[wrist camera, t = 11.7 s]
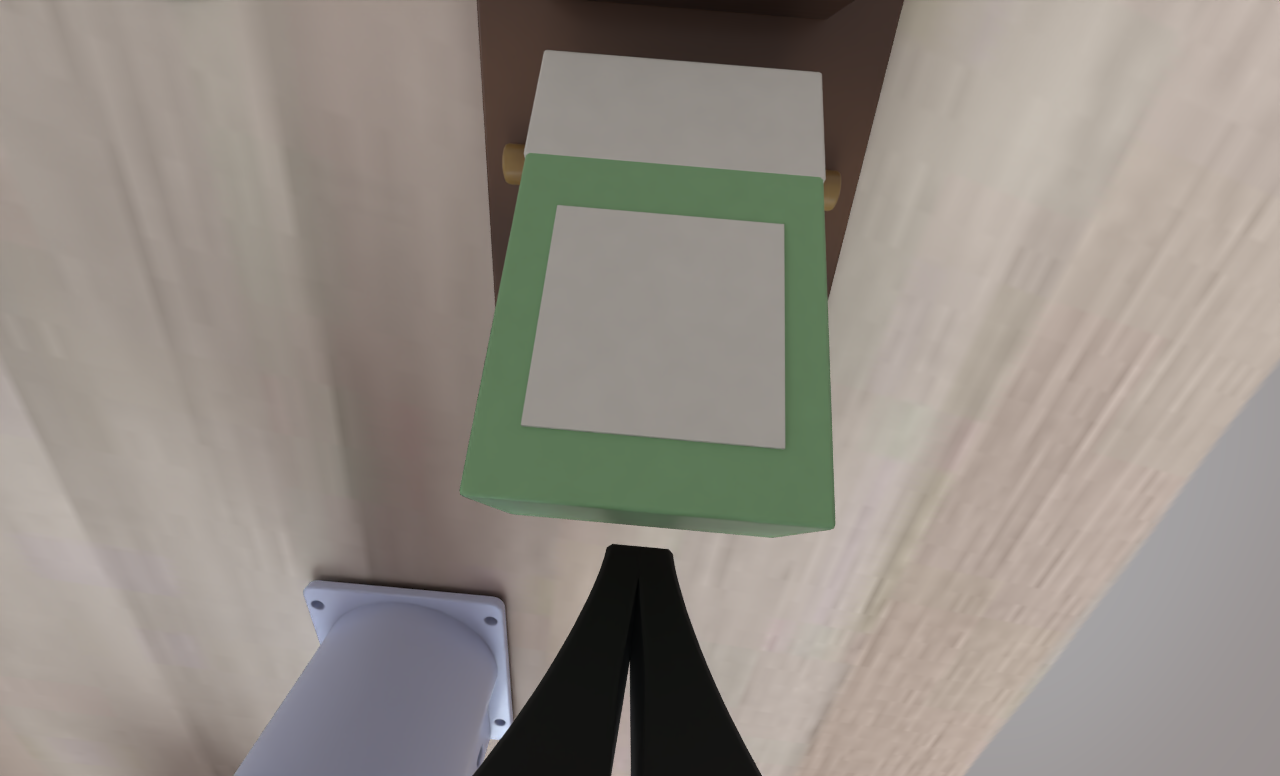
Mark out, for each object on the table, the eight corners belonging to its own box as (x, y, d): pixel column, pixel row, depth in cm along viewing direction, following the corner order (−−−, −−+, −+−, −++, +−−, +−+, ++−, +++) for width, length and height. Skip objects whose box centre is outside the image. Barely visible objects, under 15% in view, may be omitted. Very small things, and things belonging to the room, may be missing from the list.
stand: (770, 496, 18) (790, 570, 15) (512, 473, 18) (480, 542, 15) (908, -66, 11) (999, -139, 8) (481, -100, 11) (411, -184, 8)
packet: (776, 538, 9) (843, 530, 7) (507, 513, 10) (452, 494, 7) (776, 186, 12) (824, 67, 9) (564, 168, 12) (543, 44, 9)
